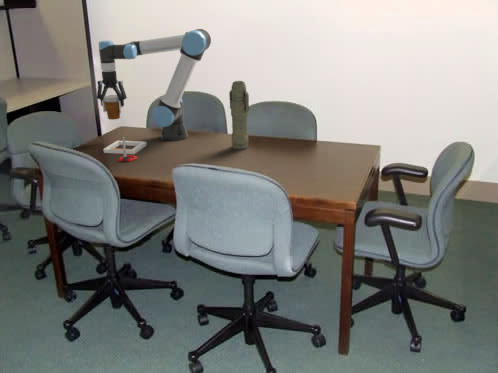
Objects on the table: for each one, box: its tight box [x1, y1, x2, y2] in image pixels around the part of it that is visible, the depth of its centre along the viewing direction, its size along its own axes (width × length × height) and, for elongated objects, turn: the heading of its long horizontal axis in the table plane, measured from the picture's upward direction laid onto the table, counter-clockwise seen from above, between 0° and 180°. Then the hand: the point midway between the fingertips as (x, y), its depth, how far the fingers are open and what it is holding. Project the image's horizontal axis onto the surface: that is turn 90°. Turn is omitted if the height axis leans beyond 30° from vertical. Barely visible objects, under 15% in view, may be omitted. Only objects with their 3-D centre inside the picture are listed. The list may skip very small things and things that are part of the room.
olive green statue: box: [228, 80, 250, 150], centre depth 290 cm, size 9×12×35 cm
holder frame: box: [103, 140, 148, 155], centre depth 297 cm, size 17×17×2 cm
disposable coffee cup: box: [103, 94, 121, 120], centre depth 303 cm, size 10×10×12 cm
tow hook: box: [118, 135, 138, 163], centre depth 278 cm, size 8×13×9 cm
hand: (113, 111), depth 304 cm, fingers closed on disposable coffee cup, 9 cm apart
